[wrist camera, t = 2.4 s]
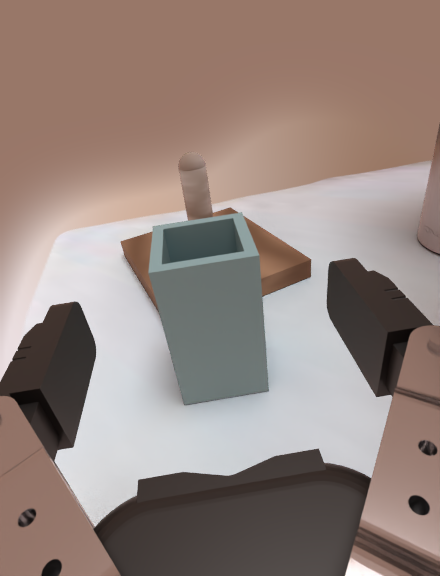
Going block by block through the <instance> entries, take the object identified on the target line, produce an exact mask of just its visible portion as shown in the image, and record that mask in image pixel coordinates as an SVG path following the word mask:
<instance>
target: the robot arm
mask: <svg viewBox="0 0 440 576" xmlns="http://www.w3.org/2000/svg"><path fill="white" fill-rule="evenodd" d="M417 237H418V240H419V241H420V242H421V244H422V245H424V246H425V247H426V248H428V249H430V250H432V251H434V252H436V253H438V254H440V124H439V129H438V135H437V139H436V144H435V149H434V155H433V159H432V164H431V169H430V174H429V179H428V184H427V189H426V194H425V199H424V203H423V208H422V213H421V219H420V224H419V229H418V234H417ZM327 309H328V313H329V317H330V319H331V321H332V323H333V324H334V326H335V328H336V329H337V331H338V333H339V335H340V336H341V338H342V340H343V341H344V343H345V345H346V346H347V348H348V350H349V351H350V353H351V355H352V357H353V358H354V360H355V362H356V363H357V365H358V367H359V368H360V370H361V372H362V374H363V375H364V377H365V379H366V380H367V382H368V384H369V385H370V387H371V389H372V390H373V392H374V394H375V396H376V397H380V396H386V395H392V397H393V398H392V402H391V406H390V410H389V414H388V418H387V421H386V425H385V429H384V433H383V437H382V440H381V444H380V448H379V452H378V456H377V459H376V463H375V467H374V471H373V475H372V478H370V477H368V476H366V475H365V474H362V473H360V472H358V471H355V470H353V469H350V468H347V467H344V466H340V465H335V464H330V463H324V462H323V459H322V456H321V454H320V451H319V449H314V450H308V451H302V452H297V453H291V454H285V455H279V456H274V457H272V458H270V459H268V460H265V461H263V462H261V463H259V464H257V465H254V466H252V467H250V468H248V469H246V470H243V471H241V472H239V473H237V474H234V475H230V476H223V475H211V474H199V473H188V472H181V473H175V474H169V475H164V476H158V477H152V478H146V479H140V480H138V492H137V496H135V497H133V498H131V499H129V500H127V501H126V502H124V503H122V504H121V505H119V506H118V507H117V508H115V509H114V510H113V511H111V512H110V513H109V514H108V515H107V516H106V517H104V518H103V519H102V520H101V521H100V522H99V523H98V524H97V526H96V527H95V526H94V525H93V523H92V522H91V520H90V518H89V517H88V515H87V514H86V512H85V510H84V509H83V507H82V505H81V504H80V502H79V501H78V499H77V497H76V496H75V494H74V492H73V491H72V489H71V488H70V486H69V484H68V483H67V481H66V479H65V478H64V476H63V474H62V473H61V471H60V470H59V468H58V466H57V465H56V463H55V462H54V460H55V457H56V454H57V450H60V449H66V448H72V447H74V443H75V439H76V435H77V431H78V427H79V423H80V419H81V415H82V411H83V407H84V403H85V399H86V395H87V391H88V387H89V382H90V378H91V374H92V370H93V366H94V362H95V358H96V345H95V341H94V338H93V335H92V333H91V330H90V328H89V325H88V323H87V320H86V318H85V315H84V313H83V310H82V308H81V306H80V304H79V303H78V302H70V303H64V304H58V305H52V306H51V307H50V308H49V310H48V312H47V315H46V317H45V319H44V321H43V323H39V324H36V325H35V326H34V327H33V328H32V329H31V330H30V331H29V332H28V333H27V334H26V335H25V336H24V337H23V339H22V341H21V343H20V345H19V347H18V351H16V353H15V355H14V356H13V359H12V360H13V361H12V362H10V364H9V366H8V368H7V370H6V372H5V374H4V376H3V378H2V380H1V382H0V576H440V326H434V325H433V324H432V323H431V322H430V321H429V320H428V319H427V318H426V317H425V316H424V315H423V314H422V313H421V312H420V311H419V310H418V309H417V308H416V306H415V305H414V304H413V303H412V302H411V301H410V300H409V299H408V298H406V297H405V295H404V294H403V293H402V292H401V291H400V290H398V288H397V287H396V285H395V284H394V283H393V282H392V281H391V280H390V279H389V278H387V277H385V276H384V275H382V274H380V273H378V272H376V271H367V270H366V269H365V268H364V267H363V266H362V265H361V263H360V262H359V261H358V260H357V259H356V258H351V259H345V260H338V261H332V262H330V264H329V269H328V288H327Z"/></svg>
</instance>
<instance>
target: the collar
mask: <svg viewBox="0 0 440 576" xmlns="http://www.w3.org/2000/svg"><path fill="white" fill-rule="evenodd" d="M148 273H149V277H150V281H151V284H152V288H153V292H154V295H155V299H156V303H157V306H158V310H159V314H160V317H161V321H162V325H163V328H164V332H165V336H166V339H167V343H168V347H169V350H170V354H171V358H172V361H173V365H174V369H175V372H176V376H177V380H178V383H179V387H180V391H181V394H182V398H183V402H184V405H188V404H194V403H200V402H206V401H212V400H218V399H224V398H230V397H236V396H241V395H247V394H253V393H259V392H265V391H269V388H268V373H267V359H266V344H265V329H264V315H263V300H262V286H261V271H260V256H259V253H258V251H257V248H256V246H255V243H254V241H253V238H252V236H251V234H250V231H249V229H248V226H247V224H246V221H245V219H244V216H243V214H242V212H241V213H235V214H228V215H222V216H216V217H209V218H203V219H197V220H190V221H184V222H178V223H171V224H165V225H159V226H153V233H152V243H151V253H150V262H149V272H148Z"/></svg>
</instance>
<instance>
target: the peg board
mask: <svg viewBox="0 0 440 576" xmlns="http://www.w3.org/2000/svg"><path fill="white" fill-rule="evenodd" d="M178 167H179V173H180V179H181V184H182V189H183V195H184V200H185V206H186V211H187V217H188V221H190V220H197V219H203V218H209V217H216V216H222V215H228V214H235V213H238V212H237V211H235V210H233V209H232V208H227V209H224V210H221V211H218V212H214V213H212V205H211V198H210V192H209V184H208V177H207V170H206V163H205V161H204V159H203V157H202V156H201V155H200V154H198V153H196V152H188V153H186V154H184V155H183V156H182V157H181V158H180V161H179V166H178ZM244 219H245V221H246V224H247V226H248V229H249V231H250V234H251V236H252V238H253V241H254V243H255V246H256V248H257V251H258V253H259V256H260V271H261V286H262V296H264V295H267V294H269V293H272V292H274V291H276V290H279V289H281V288H284V287H286V286H289V285H291V284H294V283H296V282H299V281H301V280H304V279H306V278H309V277H311V259H310V258H308V257H306V256H305V255H303V254H302V253H300V252H299V251H297V250H296V249H294V248H292V247H291V246H289V245H288V244H286V243H285V242H283V241H282V240H280V239H279V238H277V237H275V236H274V235H272V234H271V233H269V232H268V231H266V230H265V229H263V228H261V227H260V226H258V225H257V224H255V223H254V222H252V221H251V220H249V219H247V218H246V217H244ZM152 233H153V232H150V233H147V234H143V235H140V236H137V237H134V238H130V239H127V240H124V241H121V245H122V248H123V251H124V255H125V257H126V259H127V260H128V262H129V264H130V265H131V267H132V269H133V270H134V272H135V274H136V275H137V277H138V279H139V280H140V282H141V283H142V285H143V287H144V288H145V290H146V292H147V293H148V295H149V297H150V298H151V300H152V302H153V303H154V305H155V307H156V308H157V310H158V306H157V303H156V299H155V295H154V292H153V288H152V284H151V281H150V277H149V273H148V272H149V262H150V253H151V243H152ZM158 312H159V310H158Z"/></svg>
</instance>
